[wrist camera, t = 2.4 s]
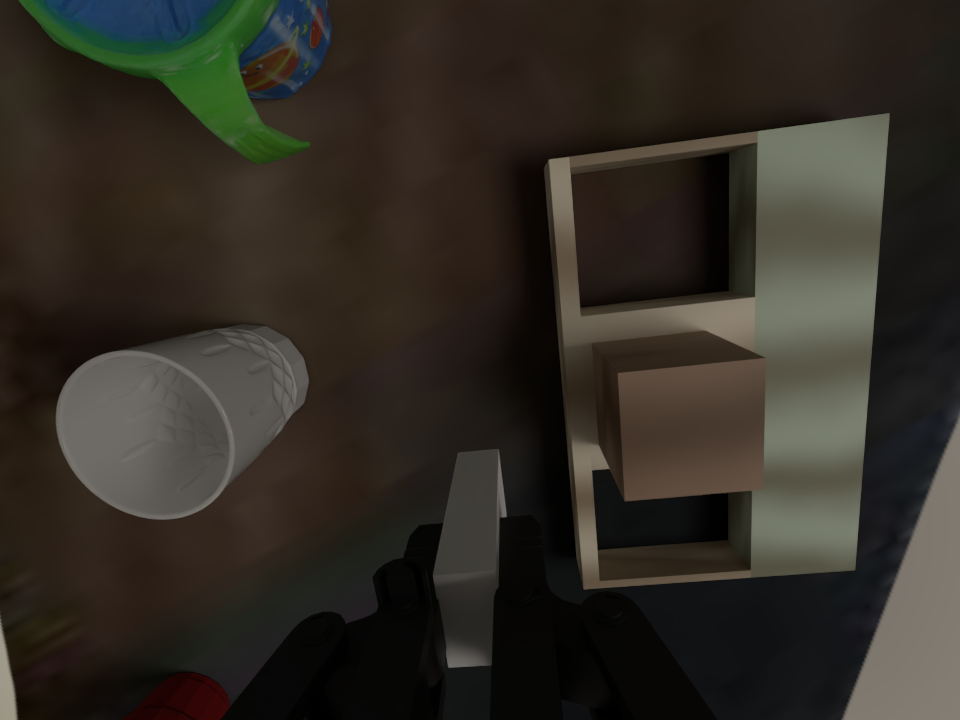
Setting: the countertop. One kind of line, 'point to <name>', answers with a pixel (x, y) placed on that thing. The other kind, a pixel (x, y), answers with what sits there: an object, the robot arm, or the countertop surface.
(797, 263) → the frame
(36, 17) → the snack cup
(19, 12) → the countertop surface
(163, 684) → the plastic cup
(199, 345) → the white cup
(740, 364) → the walnut block
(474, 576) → the robot arm
